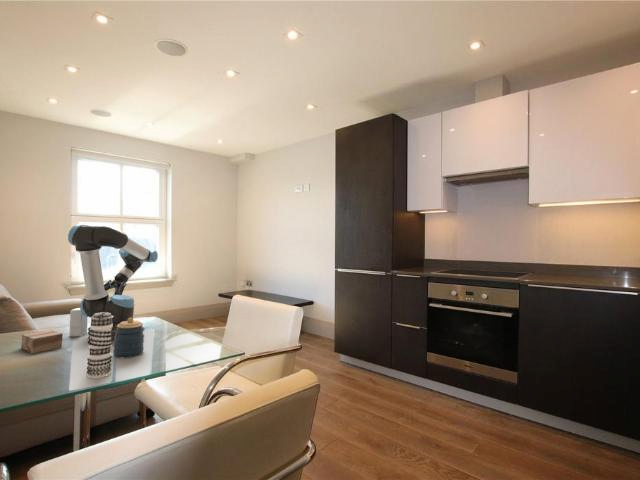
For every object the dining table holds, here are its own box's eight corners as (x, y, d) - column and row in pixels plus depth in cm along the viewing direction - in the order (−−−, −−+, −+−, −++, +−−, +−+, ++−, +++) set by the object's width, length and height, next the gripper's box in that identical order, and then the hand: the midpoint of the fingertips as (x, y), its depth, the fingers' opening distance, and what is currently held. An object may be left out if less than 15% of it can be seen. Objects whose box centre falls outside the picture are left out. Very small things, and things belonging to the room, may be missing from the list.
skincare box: (80, 336, 190) (82, 310, 190) (68, 336, 188) (69, 310, 189) (87, 332, 198) (88, 307, 198) (75, 332, 197) (77, 307, 197)
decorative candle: (88, 371, 142) (91, 311, 142) (113, 369, 145) (117, 310, 146) (82, 379, 133) (85, 316, 134) (109, 377, 137) (112, 315, 137)
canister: (138, 348, 174) (140, 313, 175) (147, 354, 165) (149, 318, 165) (109, 353, 165) (111, 316, 165) (117, 360, 156) (119, 321, 156)
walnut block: (61, 347, 171) (62, 333, 171) (32, 353, 160) (33, 338, 160) (50, 343, 177) (50, 329, 177) (21, 348, 166) (22, 334, 166)
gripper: (140, 281, 216) (117, 308, 202) (113, 278, 225) (89, 304, 211) (133, 273, 211) (109, 300, 197) (106, 270, 221) (81, 296, 207)
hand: (99, 302), depth 204 cm, fingers open, 13 cm apart
